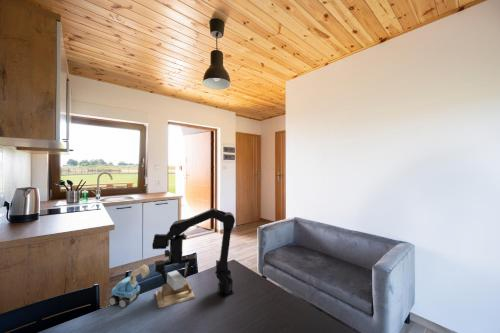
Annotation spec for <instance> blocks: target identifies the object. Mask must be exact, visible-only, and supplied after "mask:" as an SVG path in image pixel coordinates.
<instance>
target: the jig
mask: <svg viewBox="0 0 500 333" xmlns="http://www.w3.org/2000/svg"><path fill="white" fill-rule="evenodd" d="M195 296H196V295H195V294H194V292H193V289H192V286H191V284H190V283H188V291H184V292H180V293H176V294H172V295H168V296H164V299H163V296H162V289H161V290H160V289H159V290H155V298H156V304H157V308H158V309H160V308H163V307H167V306H168V307H169V306H171V305H172V306H173V305H176V304H180V303H182V302H185V301H189V300H193V299H195Z"/></svg>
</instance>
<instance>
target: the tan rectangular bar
mask: <svg viewBox="0 0 500 333" xmlns="http://www.w3.org/2000/svg"><path fill="white" fill-rule="evenodd" d="M188 284H189V283H188V282H187V279H184V287H182V288H180V289H177V290H174V289H173V288H172V287H171V286H170V285H169V284H168V283H164V284H162V287H161V290H162V296H163V299H164V296H168V295H172V294H176V293H180V292H184V291H188Z"/></svg>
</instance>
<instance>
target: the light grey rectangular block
mask: <svg viewBox="0 0 500 333" xmlns="http://www.w3.org/2000/svg"><path fill="white" fill-rule="evenodd" d="M184 280H185V278H184V276H183V275H182V274H181V273H180V272H179V271H177V270H176V269H175V270H173V271H170V272H167V273H166V284H169V285H170V286H171V287H172V288H173V289H174V290H177V289H180V288H182V287H184Z"/></svg>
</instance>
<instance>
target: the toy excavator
mask: <svg viewBox="0 0 500 333" xmlns="http://www.w3.org/2000/svg"><path fill="white" fill-rule="evenodd" d="M150 272H151V271H150V267H149V266H148V265H147V264H143V265H141V266H140V267H139V268H137V269H135V270H133V271H131V273H130V276H127V277H125V278H123V279H122V280H120V281H119V282H117V283H116V285H115V286H114V287H113V288H112V289H111V293H110V294H111V296H110V297H109V298H108V304H109V305H110V306H116V305H117V304H118V305H119V308H121V309H124V308H126V307H127V306H128V305H130V303H131V302H133V301H134V300H136V299H137V298H138V297H139V296H140V292H141V291H140V290H141V286H140V285H139V282H138V281H137V276H138V275H141V278H142V279H144V278H146V277H147V276H148V275H149V274H150ZM116 303H117V304H116ZM113 304H115V305H113Z"/></svg>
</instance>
